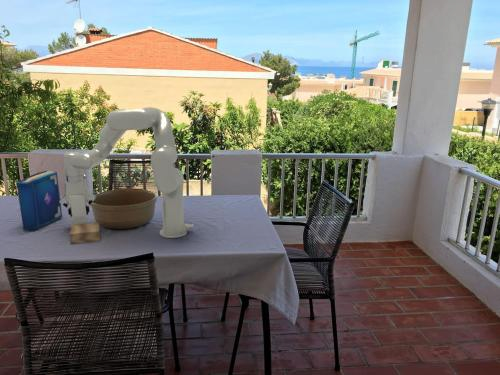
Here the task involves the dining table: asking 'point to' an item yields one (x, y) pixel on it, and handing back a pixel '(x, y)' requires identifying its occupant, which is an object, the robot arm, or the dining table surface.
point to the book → (39, 200)
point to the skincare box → (78, 209)
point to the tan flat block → (84, 233)
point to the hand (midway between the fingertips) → (79, 214)
